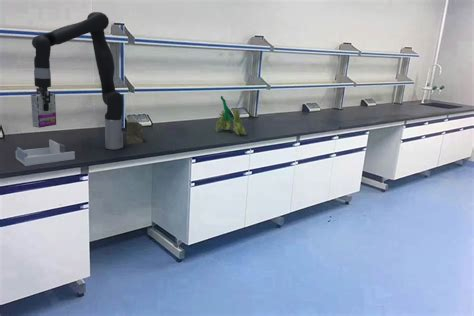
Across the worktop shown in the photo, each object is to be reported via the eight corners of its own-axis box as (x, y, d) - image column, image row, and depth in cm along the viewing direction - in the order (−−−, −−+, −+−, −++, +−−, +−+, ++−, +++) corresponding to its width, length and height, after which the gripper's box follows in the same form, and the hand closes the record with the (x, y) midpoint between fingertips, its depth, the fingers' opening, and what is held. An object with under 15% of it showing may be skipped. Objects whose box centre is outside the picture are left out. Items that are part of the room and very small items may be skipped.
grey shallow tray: (63, 152, 220) (63, 142, 219) (74, 159, 210) (74, 148, 209) (16, 158, 204) (15, 147, 202) (25, 166, 194) (24, 154, 192)
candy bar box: (49, 123, 215) (48, 92, 211) (56, 125, 213) (55, 94, 209) (31, 126, 205) (30, 94, 201) (39, 128, 203) (37, 95, 199)
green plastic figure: (249, 134, 296) (248, 93, 286) (234, 139, 284) (231, 97, 274) (224, 128, 312) (221, 90, 302) (208, 134, 301) (205, 94, 290)
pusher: (59, 151, 217) (58, 138, 215) (67, 156, 209) (67, 143, 207) (49, 152, 213) (48, 139, 211) (58, 158, 205) (57, 144, 203)
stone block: (134, 138, 264) (134, 115, 260) (143, 143, 252) (143, 120, 248) (119, 139, 258) (119, 116, 254) (127, 144, 246) (127, 120, 242)
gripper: (55, 78, 200) (56, 112, 205) (45, 75, 210) (46, 107, 215) (39, 78, 195) (40, 112, 199) (30, 75, 205) (31, 108, 210)
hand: (43, 109), depth 207 cm, fingers closed on candy bar box, 6 cm apart
